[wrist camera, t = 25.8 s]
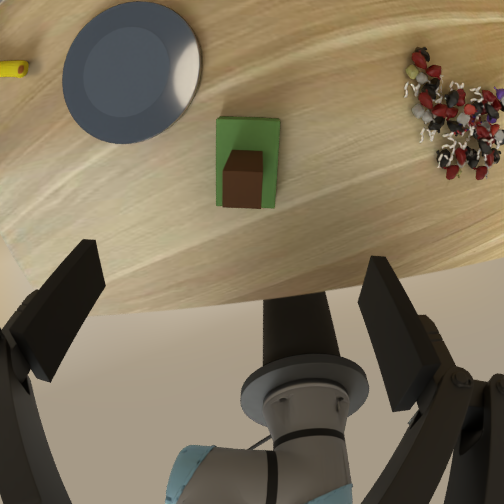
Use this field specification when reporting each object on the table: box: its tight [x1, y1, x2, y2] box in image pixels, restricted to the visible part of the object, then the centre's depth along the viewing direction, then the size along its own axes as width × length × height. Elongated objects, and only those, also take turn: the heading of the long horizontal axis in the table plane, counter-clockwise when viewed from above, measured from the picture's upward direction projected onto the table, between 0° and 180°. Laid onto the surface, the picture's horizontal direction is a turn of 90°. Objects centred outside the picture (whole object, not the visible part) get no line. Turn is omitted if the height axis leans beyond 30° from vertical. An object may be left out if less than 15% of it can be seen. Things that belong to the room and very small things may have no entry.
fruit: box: [0, 60, 29, 78], centre depth 23 cm, size 10×2×5 cm, turn 74°
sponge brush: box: [216, 116, 280, 209], centre depth 28 cm, size 9×6×10 cm, turn 178°
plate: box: [62, 1, 202, 144], centre depth 27 cm, size 16×16×1 cm
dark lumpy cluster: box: [404, 47, 504, 180], centre depth 26 cm, size 15×14×5 cm
